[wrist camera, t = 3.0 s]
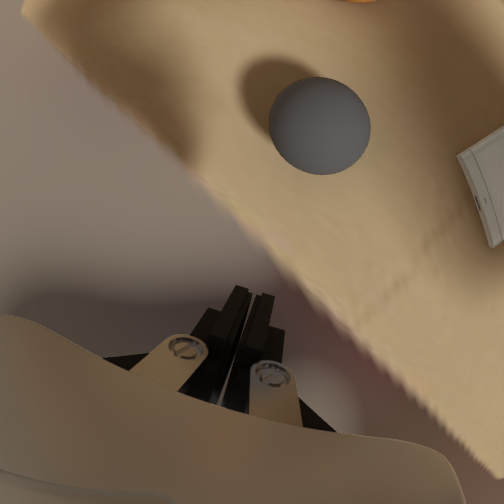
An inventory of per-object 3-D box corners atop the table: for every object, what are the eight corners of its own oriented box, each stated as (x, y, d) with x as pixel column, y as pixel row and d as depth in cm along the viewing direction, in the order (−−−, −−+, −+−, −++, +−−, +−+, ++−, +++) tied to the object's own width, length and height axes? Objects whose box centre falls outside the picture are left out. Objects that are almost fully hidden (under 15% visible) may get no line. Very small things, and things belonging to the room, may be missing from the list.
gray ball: (367, 107, 17) (390, 82, 11) (348, 186, 18) (366, 189, 13) (285, 85, 17) (277, 51, 12) (265, 162, 19) (248, 156, 13)
